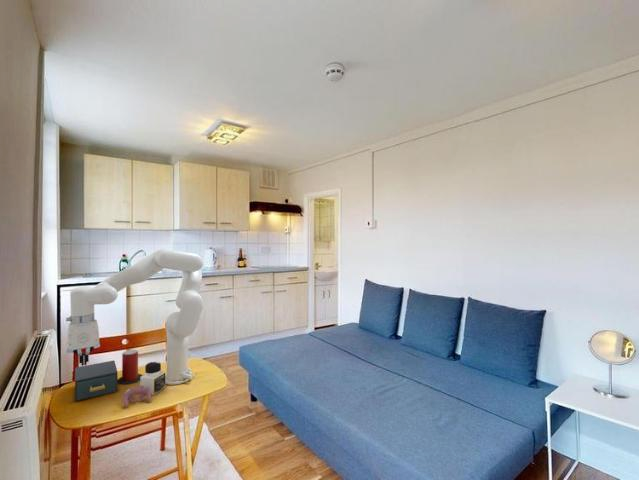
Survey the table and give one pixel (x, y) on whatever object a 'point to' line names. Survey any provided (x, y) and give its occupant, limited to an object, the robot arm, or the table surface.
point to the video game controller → (133, 391)
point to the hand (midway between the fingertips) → (84, 364)
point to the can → (129, 365)
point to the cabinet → (94, 373)
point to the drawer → (96, 386)
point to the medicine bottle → (153, 377)
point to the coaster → (129, 381)
